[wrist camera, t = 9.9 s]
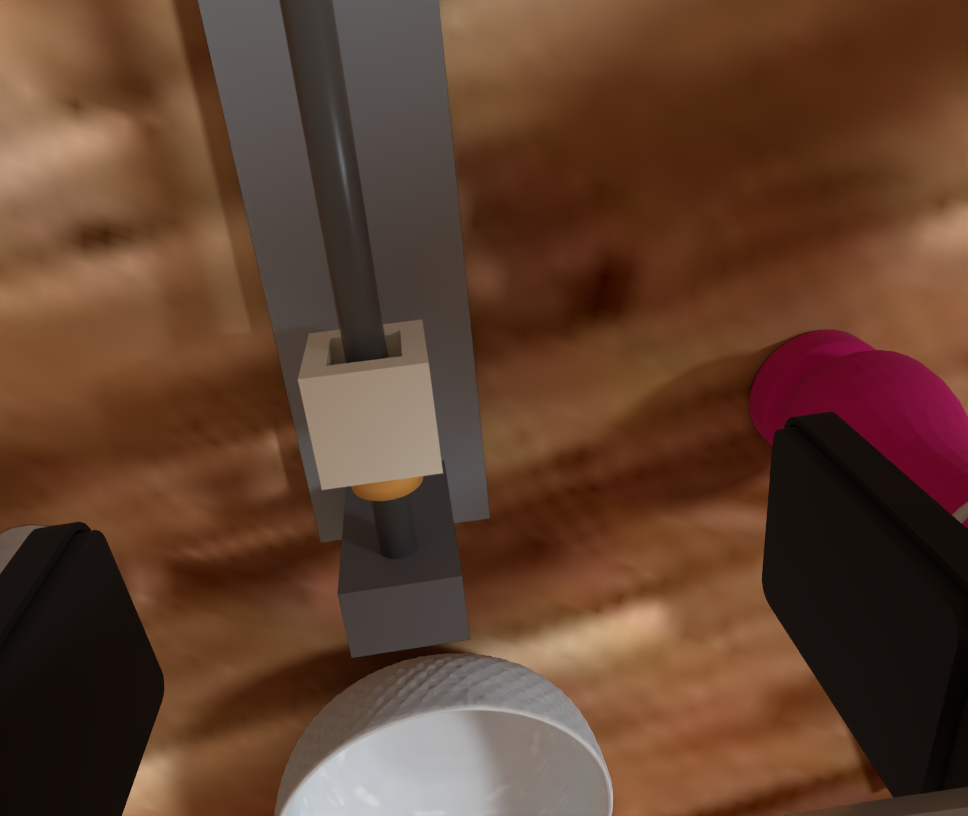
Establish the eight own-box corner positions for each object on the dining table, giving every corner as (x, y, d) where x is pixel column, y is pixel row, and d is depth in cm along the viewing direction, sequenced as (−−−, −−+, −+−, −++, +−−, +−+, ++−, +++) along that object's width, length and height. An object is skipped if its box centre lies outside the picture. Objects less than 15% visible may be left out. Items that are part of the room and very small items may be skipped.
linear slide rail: (413, -231, 24) (431, -373, 16) (487, 506, 36) (518, 642, 28) (156, -213, 23) (33, -351, 15) (322, 530, 36) (305, 675, 28)
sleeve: (422, 319, 27) (428, 362, 23) (435, 418, 28) (442, 473, 25) (308, 333, 26) (297, 379, 23) (329, 433, 28) (321, 490, 24)
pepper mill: (712, 437, 36) (1032, 820, 18) (782, 299, 34) (1237, 595, 16) (835, 469, 38) (1235, 846, 20) (911, 341, 35) (1452, 647, 17)
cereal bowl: (501, 839, 48) (520, 960, 42) (245, 789, 43) (222, 917, 37) (635, 649, 42) (680, 757, 36) (356, 565, 37) (350, 673, 31)
